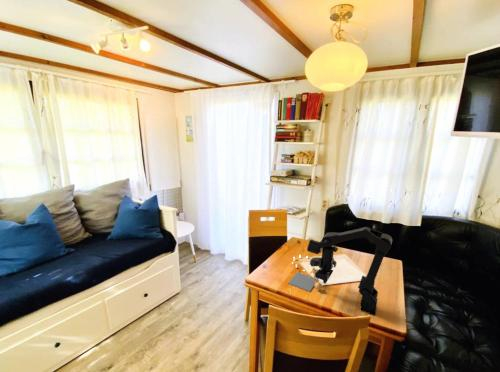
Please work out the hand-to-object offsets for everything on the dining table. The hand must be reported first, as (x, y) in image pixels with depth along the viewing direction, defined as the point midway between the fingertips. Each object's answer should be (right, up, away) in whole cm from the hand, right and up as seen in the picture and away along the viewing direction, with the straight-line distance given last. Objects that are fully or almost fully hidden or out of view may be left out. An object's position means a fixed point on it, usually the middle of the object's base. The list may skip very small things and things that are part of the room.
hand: (324, 283), depth 126 cm
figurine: (-2, -5, +2) cm, 6 cm away
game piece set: (-3, 0, +30) cm, 30 cm away
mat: (-9, -4, +11) cm, 15 cm away
